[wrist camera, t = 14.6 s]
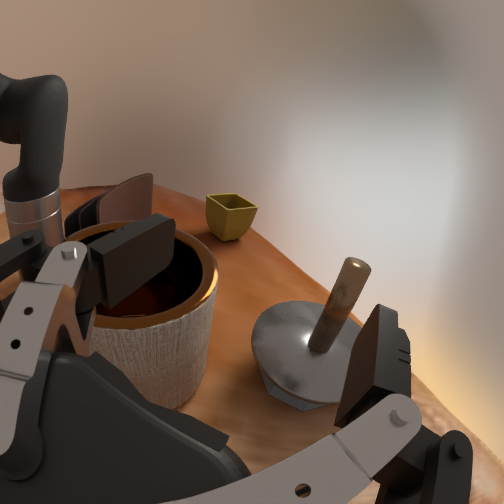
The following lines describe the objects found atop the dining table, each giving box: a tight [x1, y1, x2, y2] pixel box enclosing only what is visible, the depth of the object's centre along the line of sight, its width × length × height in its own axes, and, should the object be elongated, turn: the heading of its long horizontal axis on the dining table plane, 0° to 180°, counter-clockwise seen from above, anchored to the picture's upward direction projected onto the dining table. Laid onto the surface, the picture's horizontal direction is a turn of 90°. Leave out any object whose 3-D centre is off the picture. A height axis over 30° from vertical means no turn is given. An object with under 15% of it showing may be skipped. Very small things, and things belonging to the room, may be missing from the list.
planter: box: [58, 221, 219, 410], centre depth 28 cm, size 18×18×16 cm
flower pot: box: [206, 193, 258, 241], centre depth 65 cm, size 9×9×9 cm
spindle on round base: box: [251, 257, 371, 405], centre depth 30 cm, size 17×17×13 cm
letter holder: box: [64, 173, 153, 238], centre depth 52 cm, size 10×20×14 cm, turn 170°
